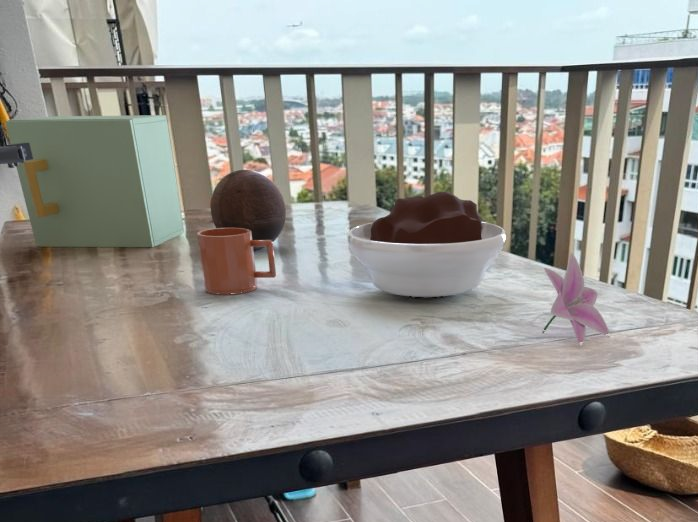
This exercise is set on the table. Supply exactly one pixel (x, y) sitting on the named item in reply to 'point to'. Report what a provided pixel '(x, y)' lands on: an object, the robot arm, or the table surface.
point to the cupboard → (150, 171)
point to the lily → (575, 301)
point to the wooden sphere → (249, 205)
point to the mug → (231, 260)
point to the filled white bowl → (427, 246)
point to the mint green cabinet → (83, 183)
